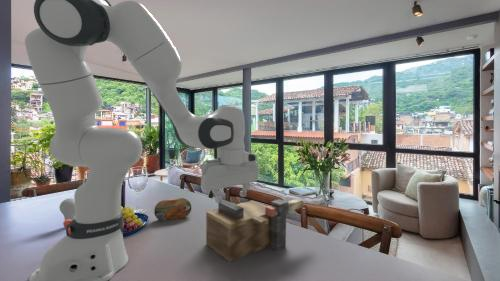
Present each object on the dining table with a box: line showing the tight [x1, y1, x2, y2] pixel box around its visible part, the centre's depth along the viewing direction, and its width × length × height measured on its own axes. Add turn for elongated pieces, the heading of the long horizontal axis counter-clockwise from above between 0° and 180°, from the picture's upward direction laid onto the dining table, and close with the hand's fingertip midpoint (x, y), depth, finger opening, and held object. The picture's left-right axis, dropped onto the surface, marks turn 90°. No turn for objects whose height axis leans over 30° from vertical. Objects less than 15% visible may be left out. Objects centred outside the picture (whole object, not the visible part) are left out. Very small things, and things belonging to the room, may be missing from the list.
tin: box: [153, 197, 192, 222], centre depth 107 cm, size 15×3×8 cm, turn 114°
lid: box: [205, 200, 270, 229], centre depth 83 cm, size 20×18×5 cm
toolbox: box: [205, 199, 290, 263], centre depth 83 cm, size 20×18×15 cm
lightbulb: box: [58, 197, 75, 221], centre depth 98 cm, size 6×6×11 cm
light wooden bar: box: [265, 198, 304, 217], centre depth 85 cm, size 15×3×2 cm, turn 129°
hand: (231, 199), depth 81 cm, fingers open, 8 cm apart
